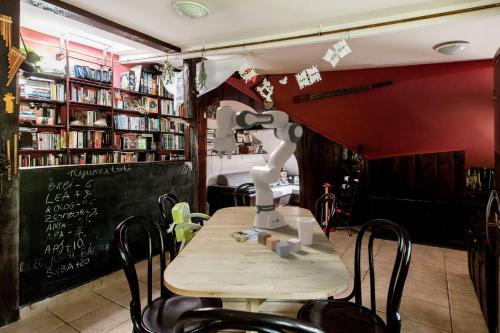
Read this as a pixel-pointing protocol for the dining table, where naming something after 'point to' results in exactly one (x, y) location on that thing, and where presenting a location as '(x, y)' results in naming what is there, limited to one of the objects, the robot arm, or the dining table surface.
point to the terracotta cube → (272, 243)
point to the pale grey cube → (294, 245)
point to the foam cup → (305, 229)
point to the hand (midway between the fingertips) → (224, 158)
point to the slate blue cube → (283, 249)
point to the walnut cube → (263, 237)
